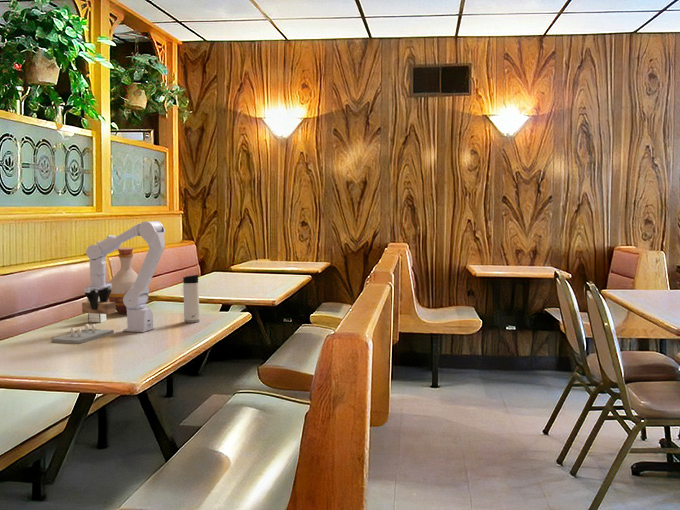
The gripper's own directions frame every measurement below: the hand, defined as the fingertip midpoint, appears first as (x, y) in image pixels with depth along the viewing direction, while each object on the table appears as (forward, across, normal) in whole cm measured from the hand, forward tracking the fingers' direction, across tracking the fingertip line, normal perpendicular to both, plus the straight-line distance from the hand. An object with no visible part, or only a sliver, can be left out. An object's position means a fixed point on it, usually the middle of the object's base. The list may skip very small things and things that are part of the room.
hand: (99, 308), depth 268 cm
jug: (+9, -38, -14) cm, 41 cm away
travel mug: (+9, -24, +28) cm, 38 cm away
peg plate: (+8, +16, +5) cm, 19 cm away
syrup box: (+9, -14, -12) cm, 20 cm away
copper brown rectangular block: (+2, 0, 0) cm, 2 cm away
